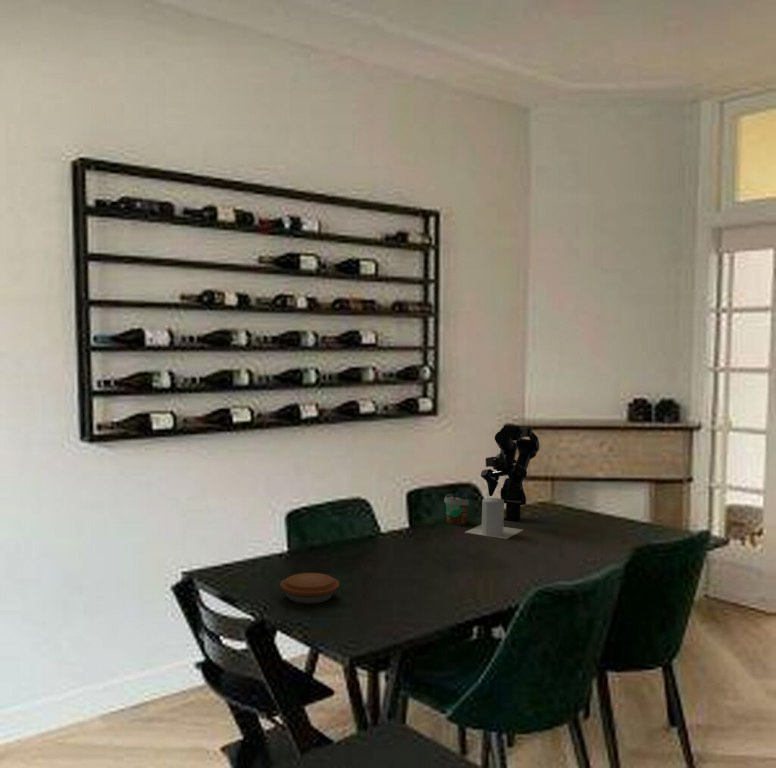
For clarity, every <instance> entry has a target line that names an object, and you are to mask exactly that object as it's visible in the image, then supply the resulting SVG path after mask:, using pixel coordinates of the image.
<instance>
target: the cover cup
mask: <svg viewBox="0 0 776 768" xmlns="http://www.w3.org/2000/svg"><path fill="white" fill-rule="evenodd" d="M481 503H482V506H481V507H482V508H481V509H482V510H481V524H482V534H483V535H482V536H484V535H486V537H491V536H501V535H503V528H504V527H505V526H504V524H505V523H504V521H505V520H504V517H505V516H504V515H505V503H504V500H503V499H501V498H497V497H485V498H482V501H481Z"/></svg>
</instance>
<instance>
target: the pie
mask: <svg viewBox="0 0 776 768" xmlns="http://www.w3.org/2000/svg"><path fill="white" fill-rule="evenodd" d="M279 585H280V587H281V589H282V590H283V592H284V593H285V595H286V596H287V599H289V600H290V601H292V602H294V603H296V604H297V603H298V604H306V605H307V604H308V605H309V604H319V603H324V602H326V601H328V600H330V599H331V598H332V596H333V594H335V591H336V590H337V589H338V588H339V587H340V585H341V584H340V581H339V579H337V578H334V577H333V576H330V575H329V574H325V573H321V572H320V573H319V572H303V573H296V574H292V575H290V576H288V577H287V578H285V579H283V580H282V581H280V584H279Z"/></svg>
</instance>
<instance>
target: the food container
mask: <svg viewBox="0 0 776 768" xmlns="http://www.w3.org/2000/svg"><path fill="white" fill-rule="evenodd" d="M443 503H445V515H446V524H447V523H448V524H449V525H454V526H467V520H468V508H469V505H470V503H469V499H466V498H465V499H464V498H461V497H456V496H454V493H450V494H449V493H448V494H446V495H445V497H444V500H443Z"/></svg>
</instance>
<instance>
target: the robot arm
mask: <svg viewBox="0 0 776 768" xmlns="http://www.w3.org/2000/svg"><path fill="white" fill-rule="evenodd" d="M494 440H495V442H496V444H497V446H498V448H499V450H500V451H499V453H497V454H496V456H490V457H485V468H488V467H491V468H492V469H491V468H488V469H483V470H482V471H481V473H480V477H481V478H482V479H483V480H485V482H486V485H487V490H488V491H487V492H488V496H489V497H493V496H494V495H493V494H494V493H495V490H496V488H497V487H498V484H499V480H500V477H506V476H507V477H506V478H505V479H504V483H503V484H502V487H501V489H500V499H503V500H504V504H505V516H504V519H505V520H504V521H511V522H520V521H522V520H523V519H525V517H524V516H522V506H525V505H527V496H526V493H525V492H526V491H525V489H524V486H523V482H524V478H527V475H528V467H529V464H530V462H531V460H532V459H534V458H535V457H537V454H538V452H539V451H540V442H539V437H538V436H537V435H536V434H535V433H534V432H533V428H532V427H529V426H521V425H516V424H515V425H514V424H512V425H511V424H504V425H503V427H502V428H501V429H500V430H499V431H497V433H496V434H494ZM517 452H518V457H517V460H516V459H515V458H516V453H517ZM494 470H495V471H494Z"/></svg>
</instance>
